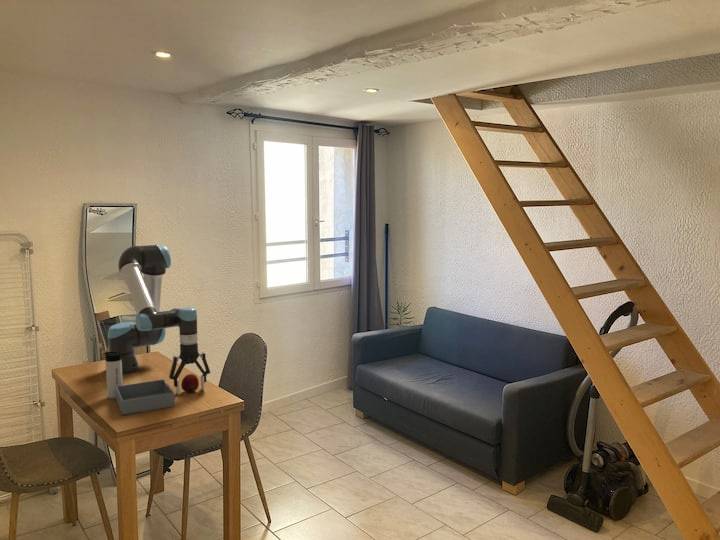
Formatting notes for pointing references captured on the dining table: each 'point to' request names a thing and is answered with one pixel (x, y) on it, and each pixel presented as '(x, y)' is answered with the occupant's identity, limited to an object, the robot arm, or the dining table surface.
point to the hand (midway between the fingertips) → (190, 391)
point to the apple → (190, 383)
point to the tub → (144, 397)
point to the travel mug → (113, 373)
